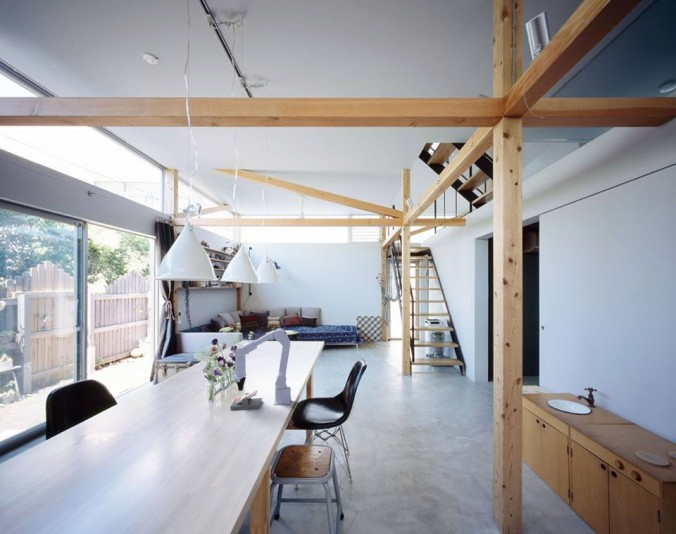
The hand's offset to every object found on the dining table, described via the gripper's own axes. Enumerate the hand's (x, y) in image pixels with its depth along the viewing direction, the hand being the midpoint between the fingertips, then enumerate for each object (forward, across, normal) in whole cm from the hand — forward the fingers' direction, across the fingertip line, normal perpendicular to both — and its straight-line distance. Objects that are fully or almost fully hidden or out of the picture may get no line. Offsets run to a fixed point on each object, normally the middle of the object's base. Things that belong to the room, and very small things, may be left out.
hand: (240, 390), depth 190 cm
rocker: (+3, +2, +4) cm, 5 cm away
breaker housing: (+8, +2, +4) cm, 9 cm away
